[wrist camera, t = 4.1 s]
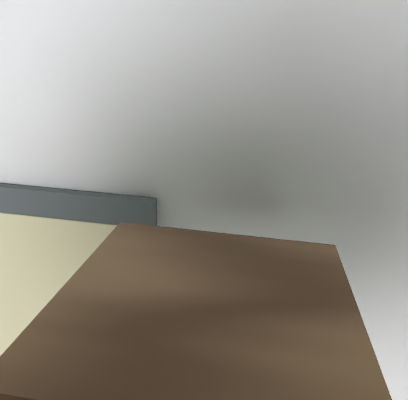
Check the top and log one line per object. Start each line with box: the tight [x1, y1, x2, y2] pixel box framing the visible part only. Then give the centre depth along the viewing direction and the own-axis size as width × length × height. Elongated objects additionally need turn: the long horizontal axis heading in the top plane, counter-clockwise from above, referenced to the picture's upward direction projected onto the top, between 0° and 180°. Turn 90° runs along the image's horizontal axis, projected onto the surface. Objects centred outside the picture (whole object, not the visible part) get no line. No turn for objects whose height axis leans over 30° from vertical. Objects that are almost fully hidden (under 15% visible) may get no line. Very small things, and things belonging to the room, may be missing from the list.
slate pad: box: [0, 183, 156, 356], centre depth 24 cm, size 14×18×1 cm
